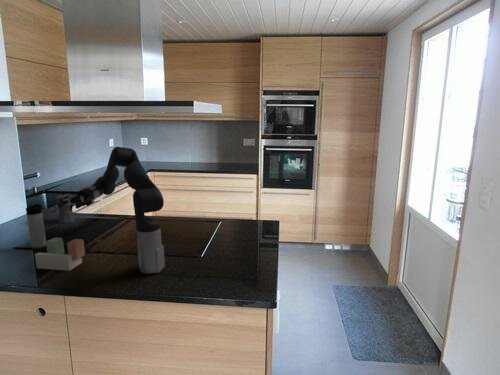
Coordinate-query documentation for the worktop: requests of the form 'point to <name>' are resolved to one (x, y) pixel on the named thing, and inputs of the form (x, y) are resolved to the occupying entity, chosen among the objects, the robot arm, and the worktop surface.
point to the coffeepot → (65, 210)
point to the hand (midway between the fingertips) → (67, 206)
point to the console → (56, 261)
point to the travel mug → (36, 226)
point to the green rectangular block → (55, 246)
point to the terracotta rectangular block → (76, 248)
